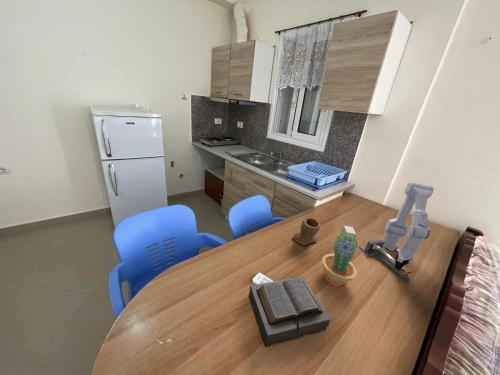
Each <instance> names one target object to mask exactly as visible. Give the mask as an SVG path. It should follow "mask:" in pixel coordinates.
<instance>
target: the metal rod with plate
mask: <svg viewBox="0 0 500 375" xmlns="http://www.w3.org/2000/svg"><path fill="white" fill-rule="evenodd" d="M375 249H376V250H377V251H379V252H380V253H381V254H382V255H383V256H384V257H386V258H387V259H388V260H389V261H390V262H391V263H393V264H394V265H395V263H396V260H395V257H393V256H392V255H390V254H389V253H388V252H387V251H385V250H384V249H383V247H382V248H380V246H378V245H377V246H375ZM413 272H414V271H413V270H412V269H411V268H406V267H405V266H403V267H402V268H401V269H400V272H399V273H400V274H402V275H412V274H413Z"/></svg>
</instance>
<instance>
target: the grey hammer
mask: <svg viewBox="0 0 500 375" xmlns="http://www.w3.org/2000/svg"><path fill="white" fill-rule="evenodd" d="M382 240H383V239H380V240H368V241H367V243H366V245H361V246H359V247H358V248H359V250H361V251H362V252H363V253H364V254H365V255H366V256H367V257H369V258H372V257H377V258H378V260H380V261H381V262H382V263H383V264H385V266H387V268H389V269H390V270H391V271H392V272H393V273H395V275H396V276H398V277H399V278H400V280H403V282H404V283H406V284H409V283H410V282H411V281H412V277H411V276H409V274H407V275H402V274H400V273H399V272H400V270H399V271H398V270H397V269H395V265H394V264H393V263H391V262H390V261H389V260H388V259H387V258H386V257H384V256H383V255H382V254H381V253H380V252H379V251H377V250H376V249H375V246H377V245H378V246H380V248H382V249H383V245H384V243H385V242H383V241H382Z"/></svg>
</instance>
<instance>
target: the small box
mask: <svg viewBox="0 0 500 375" xmlns="http://www.w3.org/2000/svg"><path fill="white" fill-rule="evenodd" d="M345 232H346V233H347V234H348V233H351V235H354V236H355V238H356V237H357V233H356V230H355V229H354V227H353V226H349V225H342V229H341V231H340V234H339V235H341V234H343V233H345Z"/></svg>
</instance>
